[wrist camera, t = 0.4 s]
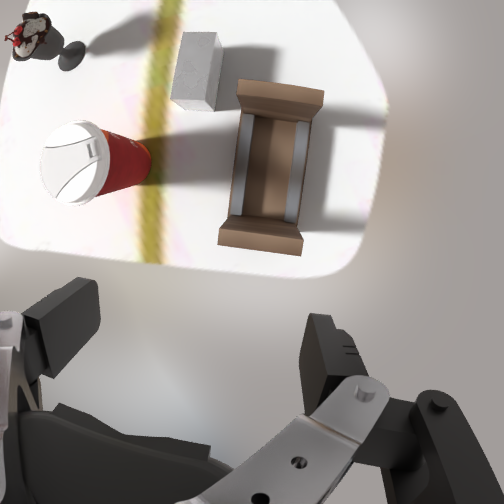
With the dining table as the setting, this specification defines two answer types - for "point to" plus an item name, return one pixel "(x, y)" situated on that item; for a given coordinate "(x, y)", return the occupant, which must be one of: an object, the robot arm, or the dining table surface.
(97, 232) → the dining table surface
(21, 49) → the sundae
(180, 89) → the metal block
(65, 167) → the paper cup
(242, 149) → the wooden holder
